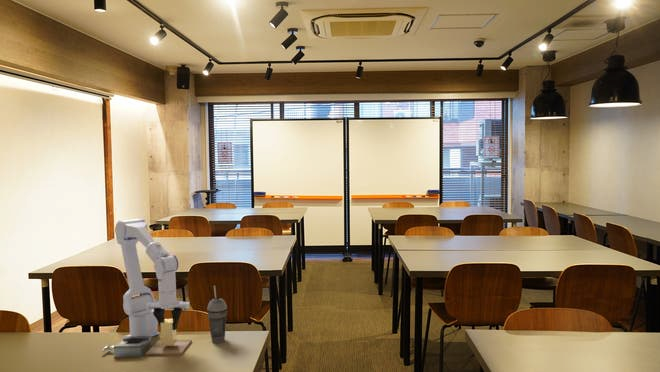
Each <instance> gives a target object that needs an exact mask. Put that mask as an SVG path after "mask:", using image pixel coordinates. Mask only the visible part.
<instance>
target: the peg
mask: <svg viewBox="0 0 660 372" xmlns="http://www.w3.org/2000/svg"><path fill="white" fill-rule="evenodd" d="M177 337H178V336H177V329H176V330H174V329H173V318H164V320H163V321H162V322H161V330H160V340H161V346H173V345H174V344H175V343H176V341H177V340H178V338H177Z"/></svg>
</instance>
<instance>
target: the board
mask: <svg viewBox="0 0 660 372" xmlns="http://www.w3.org/2000/svg"><path fill="white" fill-rule="evenodd" d="M192 341H193V339H177V341H176V343H175V344H174V345H173V346H161V339H160V340H159V339H158V340H157V341H156V342H155V343H153V345H151V347H150V348H149V349H148V350H147V351H146V352H145V353H144V354H145V356H146V357H162V356H163V357H165V356H166V357H167V356H168V357H169V356H170V357H172V356H174V357H175V356H182V355H183V354H184V352H185V351H186V350H187V349H188V348H189V346H190V345H191V343H192Z"/></svg>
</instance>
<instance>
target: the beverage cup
mask: <svg viewBox="0 0 660 372" xmlns="http://www.w3.org/2000/svg"><path fill="white" fill-rule="evenodd" d="M213 292H214V298H213V299H211V300H210V301H209V303H207V304H208V305H207V307H206V308H207V309H206V312H207V317H208V322H209V331H210V338H211V343H215V344H220V343H223V342H225V338H226V326H227V325H226V324H227V314H228V313H227V312H228V307H227V303H226V300H224V299H223V298H220V297H217V289H216V285H213Z"/></svg>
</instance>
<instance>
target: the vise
mask: <svg viewBox="0 0 660 372" xmlns="http://www.w3.org/2000/svg"><path fill="white" fill-rule="evenodd" d="M151 347H152V337H151V336H126V335H125V336H124V337H123V338H122V341H121V342H120V343H115V345H111V344H107V345H105V347H103V348H102V349H101V352H102V353H104V352H106V351H109V350H111V351H113V357H114V358H142V357H143V356H144V354H146V353H147V352H148V351H149V350H150V348H151Z"/></svg>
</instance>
